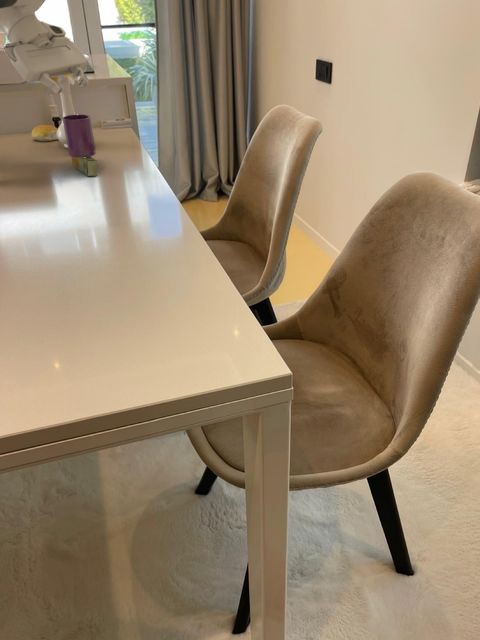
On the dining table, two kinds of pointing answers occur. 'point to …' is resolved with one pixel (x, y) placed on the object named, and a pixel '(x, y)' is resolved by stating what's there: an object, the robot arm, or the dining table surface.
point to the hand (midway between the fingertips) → (73, 88)
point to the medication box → (85, 165)
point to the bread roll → (44, 133)
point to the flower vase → (65, 101)
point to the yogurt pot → (79, 135)
